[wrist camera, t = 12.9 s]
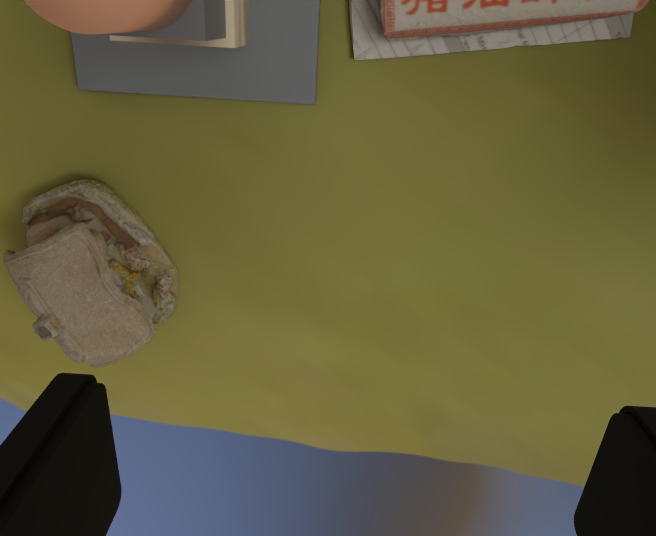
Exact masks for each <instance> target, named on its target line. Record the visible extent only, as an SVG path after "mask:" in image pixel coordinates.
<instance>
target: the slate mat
mask: <svg viewBox="0 0 656 536" xmlns="http://www.w3.org/2000/svg"><path fill="white" fill-rule="evenodd" d="M319 16H320V0H248V30H249V44H248V45H245V46H241V47H237V48H224V47H208V46H192V45H176V44H160V43H144V42H128V41H112V40H110V35H96V34H79V33H74V32H71V31H70V32H71V39H72V46H73V53H74V61H75V68H76V75H77V82H78V89H79V90H91V91H107V92H123V93H139V94H155V95H170V96H186V97H202V98H218V99H234V100H249V101H265V102H281V103H297V104H313V105H315V102H316V81H317V59H318V38H319Z"/></svg>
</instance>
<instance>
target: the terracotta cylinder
mask: <svg viewBox="0 0 656 536" xmlns="http://www.w3.org/2000/svg"><path fill="white" fill-rule="evenodd" d="M23 1H24V2H25V3H26V4H27V5H28V6H29V7H30V8H31V9H32V10H33V11H35V12H36V13H37V14H38V15H39V16H41V17H42V18H44V19H45V20H46V21H48V22H50V23H52V24H53V25H55V26H57V27H59V28H62V29H64V30H67V31H71V32H74V33H79V34H111V33H128V32H145V31H154V30H159V29H162V28H165V27H167V26H169V25H171V24H172V23H174V22H175V21H177V20H178V19H179V18H180V17H181V16H182V15H183V14H184V12H185V11H186V10H187V9H188V7H189V5H190V3H191V1H192V0H23Z"/></svg>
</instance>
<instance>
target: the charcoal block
mask: <svg viewBox="0 0 656 536" xmlns="http://www.w3.org/2000/svg"><path fill="white" fill-rule="evenodd" d="M96 35H113V36H129V37H145V38H162V39H178V40H194V41H210V40H216V39H223V38H226V13H225V0H192V1H191V3H190V5H189V7H188V9H187V10H186V11H185V12H184V14H183V15H182V16H181V17H180V18H179V19H178V20H177V21H175V22H174V23H172V24H171V25H169V26H167V27H165V28H162V29H159V30H154V31H145V32H128V33H111V34H96Z"/></svg>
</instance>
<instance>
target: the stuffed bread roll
mask: <svg viewBox="0 0 656 536" xmlns="http://www.w3.org/2000/svg"><path fill="white" fill-rule="evenodd" d="M23 208H24V209H23V219H22V223H24V224H27V234H26V237H25V238H26V244H27V248H26V249H24V250H21V251H19V252H17V253H15V252H14V251H12V250H6V251H5V253H4V263H5V265H6V266H7V267H8V270H9V273H10V275H11V277H12V279H13V281H14V283H15V284H16V288H17V291H18V293H19V294H20V296H21V297H22V298H23V300H24V301H25V302H26V304H27V305H28V306H29V308H30V309H31V310H32V312H33V313H34V314H35V315H36V316H37V317H38V319H37V321H36V322H35V323H34V324H32V326H33V329H34V331H35V332H36V333H37V334H38V335H39V336H40V337H41V339H42V341H43V342H44V341H46V340H49V339H51V338H54V339H55V341H56V342H57V344H58V345H59V347H60V348H61V350H62V351H63V353H64V354H65V355H67V356H68V357H69V358H71V359H72V360H73V361H75V362H84V363H87V364H90V365H91V366H92V367H94V368H97V367H104V366H107V365H109V364H113V363H116V362H117V361H119V360H122V359H124V358H125V357H127V356H128V355H131V354H133V353H135V352H137V351H138V350H139V349H140V348H141V347H142V346H143V345H144V344H145V343H146V342H149V340H150V339H151V337H153V336H154V335H155V331H156V329H155V326H154V324H156V323H160V324H161V323H163V322H165V321H166V320H167V319H168V318H169V317H170V316H171V315H172V314H173V312H174V311H175V308H176V302H177V299H178V271H177V268H176V266H175V264H174V262H173V261H172V259H171V258H170V256H169V255H168V253H167V252H166V251H165V249H164V248H163V247H162V245H161V243H160V242H159V240H158V239H157V238H156V236H155V235H154V233H153V232H152V231H151V230H150V228H149V227H148V226H147V224H146V223H145V222H144V221H143V219H142V218H141V217H140V216H139V215H138V214H137V212H136V211H135V210H134V209H133V208H132V207H131V206H130V205H129V203H128V202H127V201H126V200H125V199H124V198H123V197H122V196H121V195H120V194H119V193H117V192H116V191H114V190H113V189H112V188H110V187H109V186H107V185H105V184H104V183H102V182H100V181H96V180H92V179H81V180H78V181H71V182H70V183H67V184H63V185H60V186H58V187H55V188H53V189H51V190H49V191H47V192H44V193H43V194H40V195H39V196H38V197H33V198H32V199H31V200H30V202H29V203H28V204H27V205H26V206H25V207H23Z"/></svg>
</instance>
